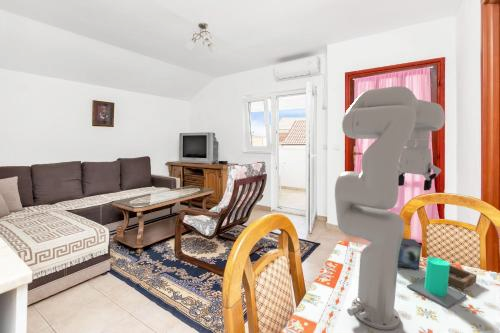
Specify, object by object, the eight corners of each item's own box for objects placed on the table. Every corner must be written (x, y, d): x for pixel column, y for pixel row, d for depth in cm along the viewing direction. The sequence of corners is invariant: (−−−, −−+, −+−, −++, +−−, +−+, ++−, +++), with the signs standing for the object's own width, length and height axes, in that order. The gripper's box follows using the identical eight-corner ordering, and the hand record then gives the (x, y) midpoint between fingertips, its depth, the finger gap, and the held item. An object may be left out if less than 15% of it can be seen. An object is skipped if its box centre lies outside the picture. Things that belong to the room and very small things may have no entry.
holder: (462, 290, 82) (463, 282, 81) (429, 275, 91) (430, 268, 90) (475, 282, 86) (476, 275, 86) (443, 269, 95) (443, 262, 95)
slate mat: (447, 308, 73) (448, 306, 73) (406, 287, 84) (407, 285, 83) (465, 296, 79) (466, 295, 79) (425, 278, 89) (425, 276, 89)
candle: (450, 297, 77) (454, 262, 76) (429, 294, 79) (433, 260, 77) (440, 286, 83) (443, 253, 82) (421, 283, 84) (424, 251, 83)
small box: (390, 267, 96) (392, 242, 95) (384, 259, 103) (386, 236, 101) (419, 271, 94) (422, 245, 93) (412, 262, 100) (414, 238, 99)
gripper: (389, 144, 99) (386, 184, 101) (437, 145, 84) (432, 193, 86) (400, 144, 103) (396, 183, 104) (448, 145, 87) (443, 191, 89)
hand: (413, 187), depth 95 cm, fingers open, 9 cm apart
